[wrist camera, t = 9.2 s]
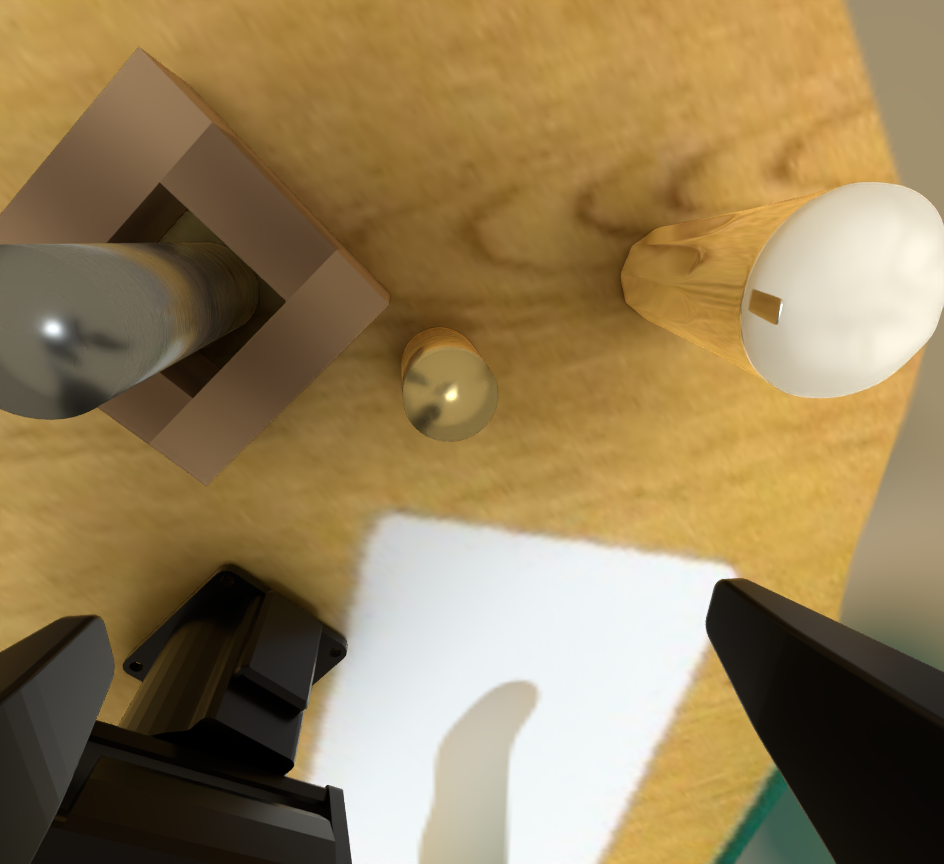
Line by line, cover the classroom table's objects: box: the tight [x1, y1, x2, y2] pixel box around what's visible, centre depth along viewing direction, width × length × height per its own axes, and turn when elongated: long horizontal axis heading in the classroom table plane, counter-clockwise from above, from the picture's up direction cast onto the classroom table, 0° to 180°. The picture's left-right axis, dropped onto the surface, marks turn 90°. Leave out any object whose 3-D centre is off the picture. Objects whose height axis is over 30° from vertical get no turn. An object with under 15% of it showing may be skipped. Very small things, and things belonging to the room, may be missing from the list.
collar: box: [0, 47, 390, 486], centre depth 15 cm, size 8×8×3 cm
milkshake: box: [620, 182, 944, 398], centre depth 14 cm, size 4×5×10 cm
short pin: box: [401, 327, 498, 442], centre depth 17 cm, size 3×3×4 cm
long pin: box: [0, 242, 259, 420], centre depth 12 cm, size 3×3×9 cm
